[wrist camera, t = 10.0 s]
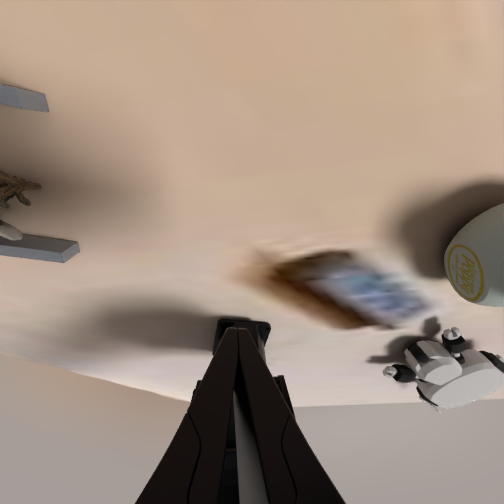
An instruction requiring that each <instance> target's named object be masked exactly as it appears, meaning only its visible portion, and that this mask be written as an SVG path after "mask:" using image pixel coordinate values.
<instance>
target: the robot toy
mask: <svg viewBox="0 0 504 504" xmlns="http://www.w3.org/2000/svg"><path fill="white" fill-rule="evenodd" d="M442 340H443V344H444V345H445V347H446V348H447V349H448V350H449V352H448V351H447V350H446V349H445V348H444V347H443V346H442V345H441V344H440V343H438V342H434V341H429V340H426V341H419V342H416V343H417V344H418V345H414V346H412V347H411V348H410V350H408V349H406V350H405V352H404V353H405V355H406V361H407V363H408V364H409V365H410V367H411V368H412V369H413V371H412V370H411V369H410V368H408V367H407V366H406V365H398V364H394V365H392V366H387V367H386V368H385V370H383V374H384V375H385V376H386V377H389V378H390V377H393V378H394V379H395V380H396V381H400V382H410V381H412V380H413V379H414V378H417V380H416V382H417V385H418V386H417V388H416V389H417V391H418V393H419V395H420V396H419V397H420V399H421V400H422V401H423V402H424V401H425V402H426V403H427V404H429V405H430V406H431V407H432V408H434V409H435V410H436V411H437V412H438V413H440V411H439V409H437V408H435V407H434V406H432V404H433V405H435V406H441V407H442V408H455V407H458V406H462V405H465V404H468V403H471V402H473V401H476V400H479V399H481V398H483V397H485V396H486V395H488V394H490V393H492V392H494V391H495V390H497V389H498V388H500V387H501V386H502V385H503V384H504V363H503V362H504V359H503V358H502V357H501V356H499V355H498V354H497V355H496V356H495V355H494V354H492V353H488V352H485V351H476V350H474V349H468V350H465V349H466V344H465V340H464V339H463V337H462V336H461V332H460V330H459V329H458V328H456V327H453V328H451V331H450V330H449V329H447V330H444V333H443V334H442ZM502 361H503V362H502ZM430 403H431V404H430Z"/></svg>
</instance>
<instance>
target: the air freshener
mask: <svg viewBox="0 0 504 504" xmlns="http://www.w3.org/2000/svg"><path fill="white" fill-rule="evenodd" d="M444 265H445V270H446V274H447V277H448V279H449V281H450V283H451V285H452V286H453V288H454V289H455V291H456V292H457V293H458V294H459V295H460V296H461V297H462V298H464V299H465V300H467V301H469V302H472V303H475V304H479V305H484V306H491V307H504V203H502V204H499V205H497V206H495V207H492V208H490V209H489V210H487V211H485V212H483V213H481V214H480V215H478V216H477V217H475V218H474V219H472V220H471V221H470V222H469V223H467V224H466V225H465V226H464V227H463V228H462V229H461V230H460V231H459V232H458V233H457V234H456V235H455V237H454V238H453V239H452V241H451V242H450V244H449V245H448V247H447V250H446V252H445V256H444Z"/></svg>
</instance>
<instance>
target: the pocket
mask: <svg viewBox="0 0 504 504" xmlns="http://www.w3.org/2000/svg"><path fill="white" fill-rule="evenodd" d="M0 104H2V105H7V106H11V107H16V108H20V109H27V110H35V111H43V112H49V110H48V105H47V101H46V96H45V94H42V93H37V92H33V91H29V90H25V89H20V88H16V87H12V86H8V85H3V84H0ZM22 235H23V236H22V239H21V240H10V239H8V238H5V237H2V236H0V255H4V256H12V257H20V258H28V259H36V260H44V261H52V262H60V263H65V262H66V261H68V260H69V259H70V258H72V257H73V256H75V255H76V254H77V253H79V252H80V249H79V245H78V242H74V241H67V240H60V239H53V238H46V237H38V236H31V235H24V234H22Z"/></svg>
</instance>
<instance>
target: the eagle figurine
mask: <svg viewBox="0 0 504 504" xmlns="http://www.w3.org/2000/svg"><path fill="white" fill-rule="evenodd" d="M39 188H41V186H40V185H39V184H35V183H30V182H27V181H26V180H25V179H19V178H17V177H16V176H10V175H7V174H5V173H3V172H2V171H0V205H1V206H2V207H5V208H8V207H9V205H8V204H7V203H6V201H8V200H9V199H10V198H13V197H14V195H16V196H17V198H18V199H19V201H20V202H21V203H23V204H25V205H27V206H30V205H31V203H30V201H29V200H28V199H26V198H25V197H24V196H23V193H22V191H25V190H28V189H39ZM0 236H2V237H5V238H8V239H10V240H21V239H22V236H23V235H22V232H21V231H20V230H18V229H17V228H15V227H14V226H12V225H10V224H8V223H6V222H4V221H1V220H0Z"/></svg>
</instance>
